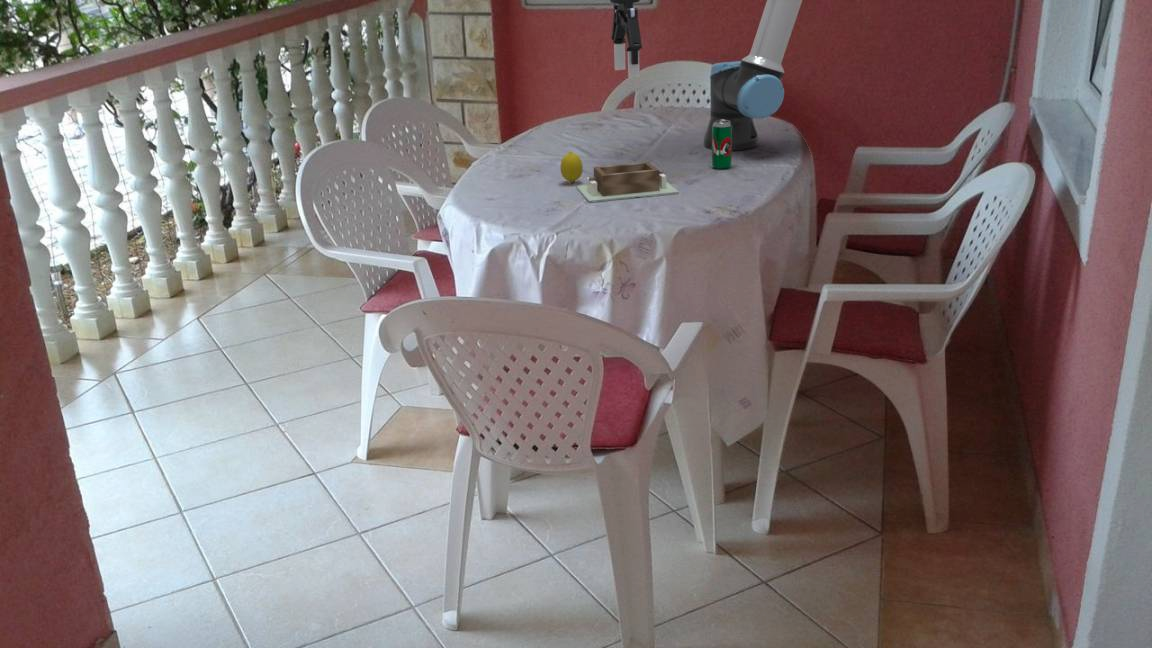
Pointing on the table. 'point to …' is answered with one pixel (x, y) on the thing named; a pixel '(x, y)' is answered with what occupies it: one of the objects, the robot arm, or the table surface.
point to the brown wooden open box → (626, 178)
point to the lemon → (571, 167)
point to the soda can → (722, 144)
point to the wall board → (593, 194)
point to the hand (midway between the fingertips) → (626, 73)
